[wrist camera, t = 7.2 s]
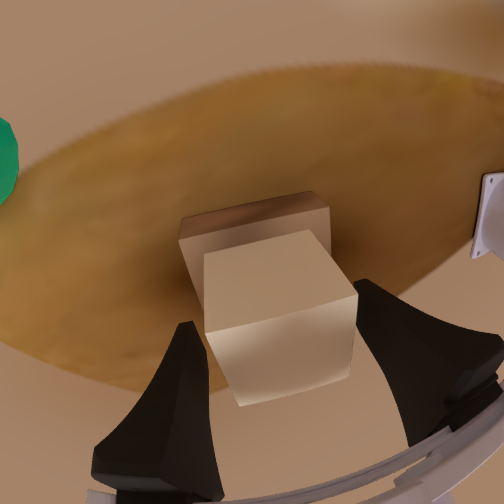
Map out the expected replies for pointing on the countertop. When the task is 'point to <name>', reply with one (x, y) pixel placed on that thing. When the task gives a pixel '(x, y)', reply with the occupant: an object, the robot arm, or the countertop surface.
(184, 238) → the stand
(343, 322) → the block
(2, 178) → the candle
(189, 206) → the countertop surface
